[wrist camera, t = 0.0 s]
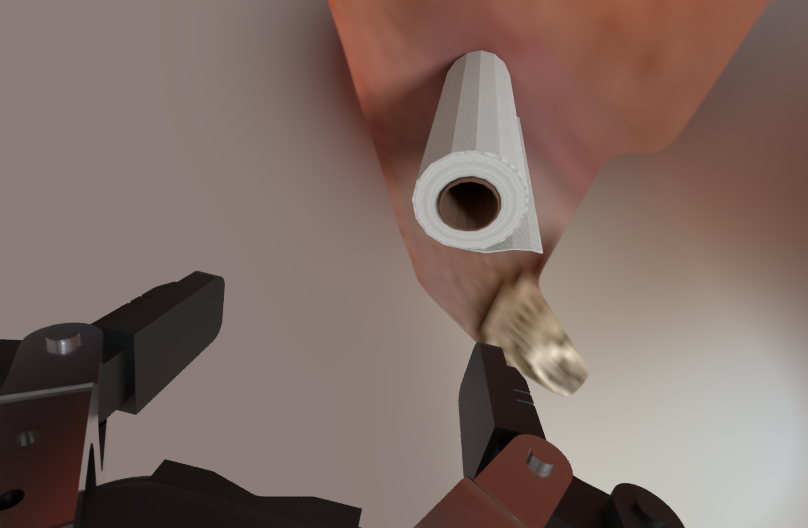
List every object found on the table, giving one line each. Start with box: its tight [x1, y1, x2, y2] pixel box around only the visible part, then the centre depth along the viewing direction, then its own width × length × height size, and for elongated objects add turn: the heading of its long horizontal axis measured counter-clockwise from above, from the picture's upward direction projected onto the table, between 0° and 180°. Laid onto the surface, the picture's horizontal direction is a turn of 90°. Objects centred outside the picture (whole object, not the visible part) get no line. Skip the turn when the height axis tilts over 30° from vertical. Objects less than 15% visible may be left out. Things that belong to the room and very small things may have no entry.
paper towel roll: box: [412, 51, 543, 253], centre depth 28 cm, size 7×6×21 cm
